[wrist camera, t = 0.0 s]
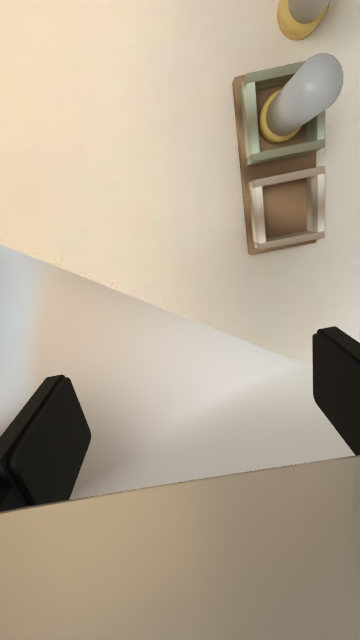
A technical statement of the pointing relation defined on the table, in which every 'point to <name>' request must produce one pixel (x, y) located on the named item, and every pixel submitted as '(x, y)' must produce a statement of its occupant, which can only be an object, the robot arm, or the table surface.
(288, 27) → the grey rounded cylinder
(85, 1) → the table surface
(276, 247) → the socket board
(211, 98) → the table surface
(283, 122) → the seated sleeve
